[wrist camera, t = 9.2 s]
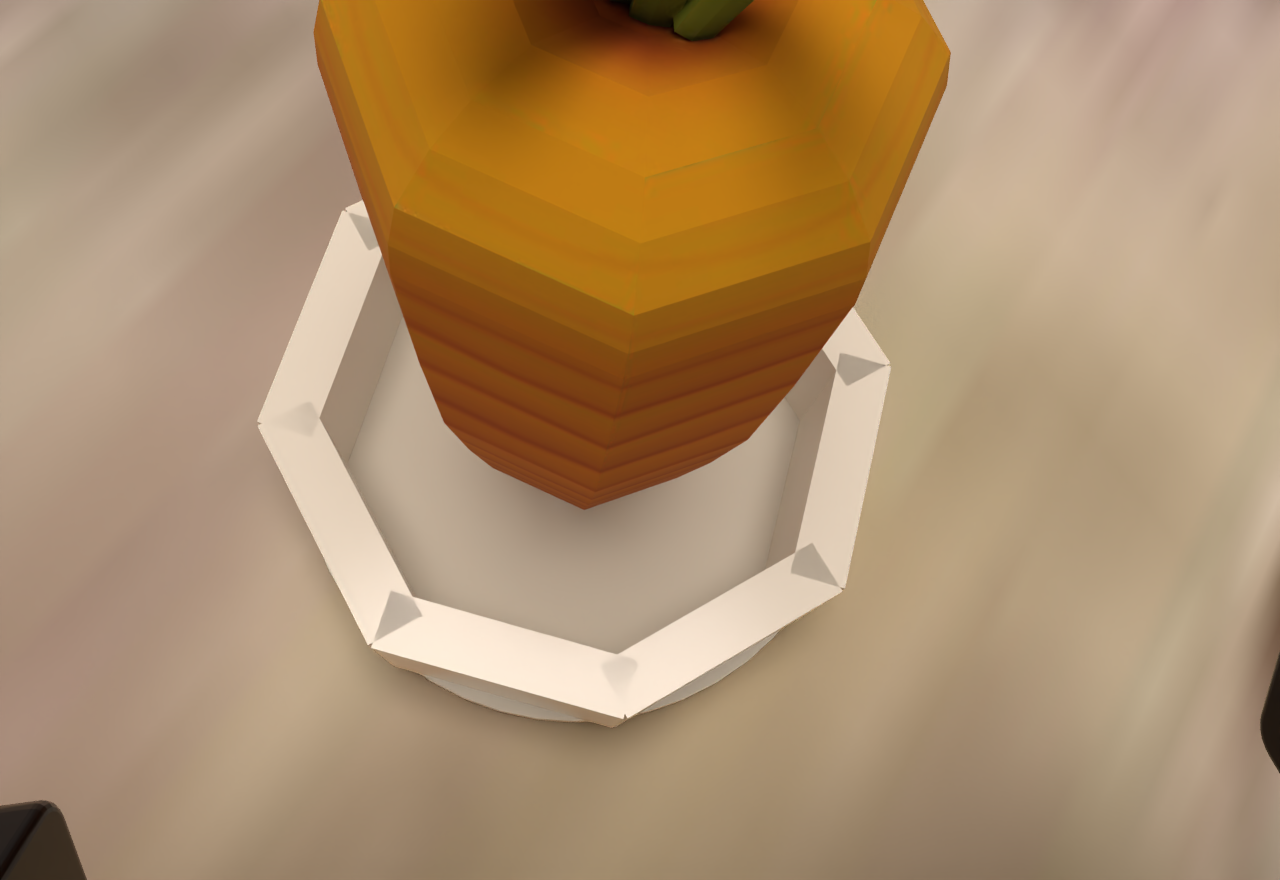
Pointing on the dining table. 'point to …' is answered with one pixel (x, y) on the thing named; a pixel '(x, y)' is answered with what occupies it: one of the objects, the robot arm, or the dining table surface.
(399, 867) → the dining table surface
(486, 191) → the carrot
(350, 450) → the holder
